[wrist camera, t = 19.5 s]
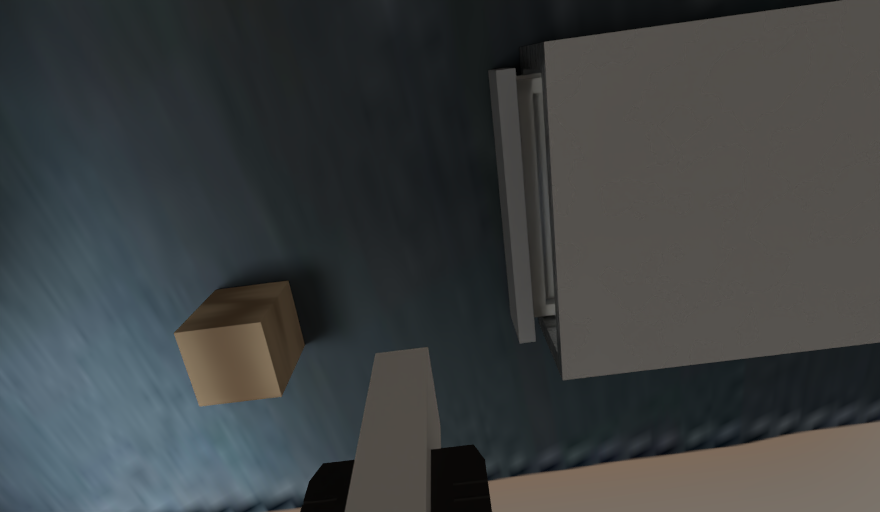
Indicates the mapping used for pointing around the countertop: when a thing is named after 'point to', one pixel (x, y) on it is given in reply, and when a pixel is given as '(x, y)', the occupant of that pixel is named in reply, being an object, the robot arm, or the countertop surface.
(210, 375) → the block
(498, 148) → the tray
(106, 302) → the countertop surface
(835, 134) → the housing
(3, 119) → the countertop surface
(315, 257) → the countertop surface
